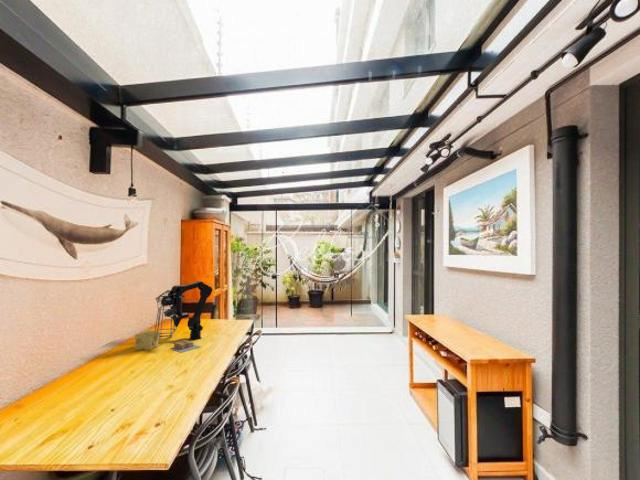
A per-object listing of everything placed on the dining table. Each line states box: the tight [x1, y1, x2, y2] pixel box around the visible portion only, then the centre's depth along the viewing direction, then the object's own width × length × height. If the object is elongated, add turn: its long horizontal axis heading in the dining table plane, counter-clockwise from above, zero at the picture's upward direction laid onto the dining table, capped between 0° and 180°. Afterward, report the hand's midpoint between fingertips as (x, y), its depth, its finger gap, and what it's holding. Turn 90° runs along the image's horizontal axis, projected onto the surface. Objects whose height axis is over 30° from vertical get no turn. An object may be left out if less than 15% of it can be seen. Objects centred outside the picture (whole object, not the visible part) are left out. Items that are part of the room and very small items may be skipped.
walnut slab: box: [173, 339, 194, 350], centre depth 204 cm, size 8×3×9 cm
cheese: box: [134, 330, 160, 351], centre depth 202 cm, size 10×11×10 cm
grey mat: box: [171, 344, 201, 353], centre depth 202 cm, size 14×12×1 cm
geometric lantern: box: [154, 289, 178, 340], centre depth 227 cm, size 16×16×35 cm
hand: (176, 326), depth 210 cm, fingers closed
